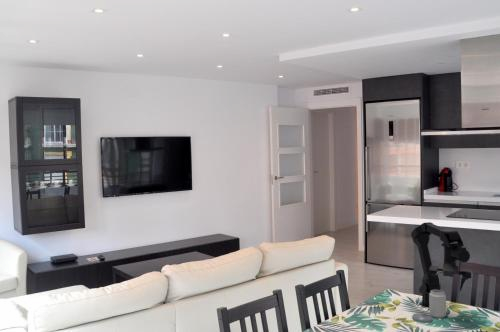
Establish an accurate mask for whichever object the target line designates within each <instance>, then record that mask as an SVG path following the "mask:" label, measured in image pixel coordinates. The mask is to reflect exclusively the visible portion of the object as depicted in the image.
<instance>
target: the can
mask: <svg viewBox="0 0 500 332" xmlns="http://www.w3.org/2000/svg"><path fill="white" fill-rule="evenodd" d="M445 292H446V291H444V290H442V289H440V290H431V293H430V294H429V307H428V308H429V309H428V310H429V315H431V316H432V317H433V318H437V319H442V318H445V317H446V315H447V295H446V293H445Z"/></svg>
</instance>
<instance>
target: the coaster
mask: <svg viewBox="0 0 500 332" xmlns="http://www.w3.org/2000/svg"><path fill="white" fill-rule="evenodd" d="M411 317H412V320H413V321H415V322H417V321H418V323H426V324H427V323H432V322H433V320H434V319H433V318H434V317H433V316H431V315H430V313H429V314H428V313H424V312H423V313H421V312H417V313H413V314H412V316H411Z"/></svg>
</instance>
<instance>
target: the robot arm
mask: <svg viewBox="0 0 500 332" xmlns="http://www.w3.org/2000/svg"><path fill="white" fill-rule="evenodd" d="M410 235H411V238H412V242H413V243H414V245H416V246H417V250H418V254H419V259H420V262H421V267H422V271H423V276H422V279H421V283H422V284H421V285H420V286H419V288H418V291H419V294H421V296H422V297H421V298H422V300H421V302H422V303H420V306H423V307H427V308H429V294H430V293H431V290H442V289H441V288H442V283H441V276H440V275H441V274H442V276H444V277H450V278H454V277H455V275H459V276H461V280H460V286H459V291H460V292H461V291H462V290H463V286H464V284H465V282H466V281H468V280H469V279H472V277H473V270H472V269H471V268H470V269H469V268H462V270H460V267H459V266H458V262H461V263H467V262H468V261H470V258H471V254H470V252H469V251H468V250H467V247H466V246H465V245H464V242H463V239H462V237H461V235H460V233H459V232H458V231H457V230H454V229H445V228H443V227H441V226H439V225H436V224H434V223H433V222H423V223H421V224H420V225H418V226H417V227H415V228H414V229H413V230H412V231H411V234H410ZM431 235H434V236H436V237H438V238H439V240H440V241H441V242H442V243H441V245H440V246H441V247H443V265H442V268H440V266H439V265H433V264H432V259H431V258H432V257H431V254H430V250H429V242H430V239H431V238H430V236H431ZM440 273H441V274H440Z"/></svg>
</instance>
